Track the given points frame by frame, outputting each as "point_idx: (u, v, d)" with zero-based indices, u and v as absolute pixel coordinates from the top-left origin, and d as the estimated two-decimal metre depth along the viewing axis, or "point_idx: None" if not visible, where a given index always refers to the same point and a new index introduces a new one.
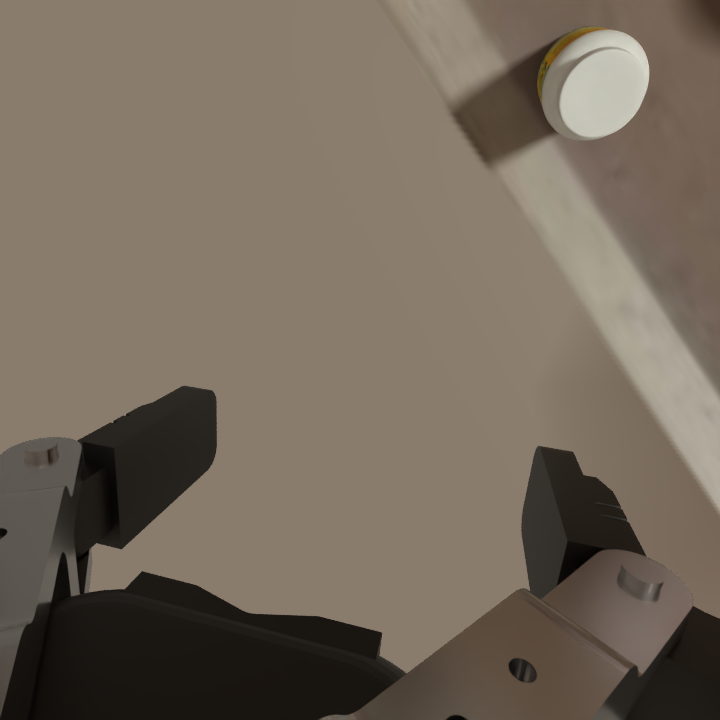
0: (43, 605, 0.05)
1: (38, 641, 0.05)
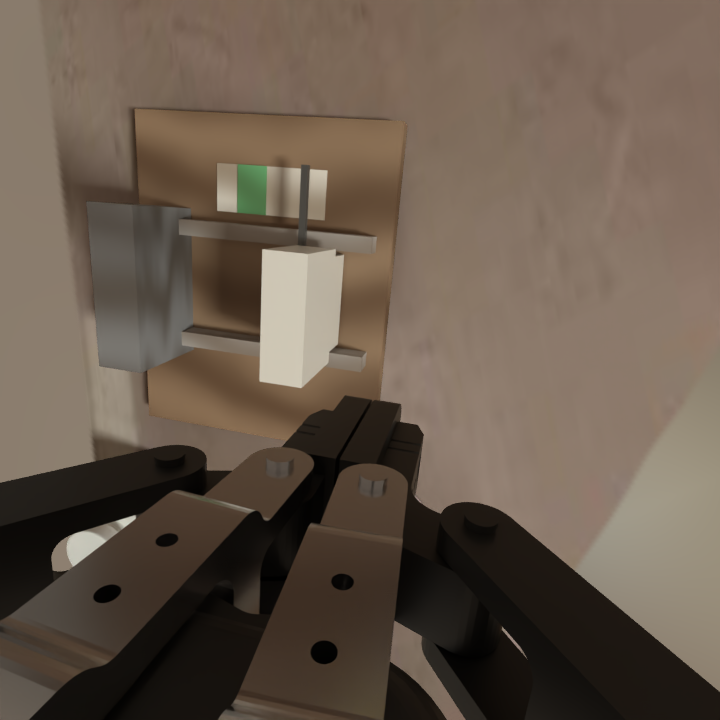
0: (146, 641, 0.05)
1: (117, 683, 0.04)
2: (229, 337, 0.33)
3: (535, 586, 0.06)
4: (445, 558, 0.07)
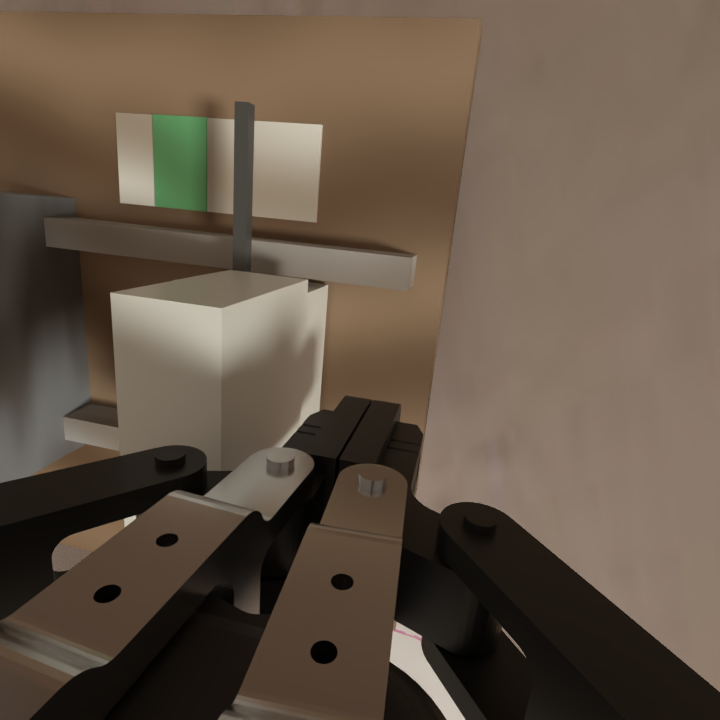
0: (148, 642, 0.05)
1: (118, 683, 0.04)
2: None
3: (535, 586, 0.06)
4: (444, 558, 0.07)
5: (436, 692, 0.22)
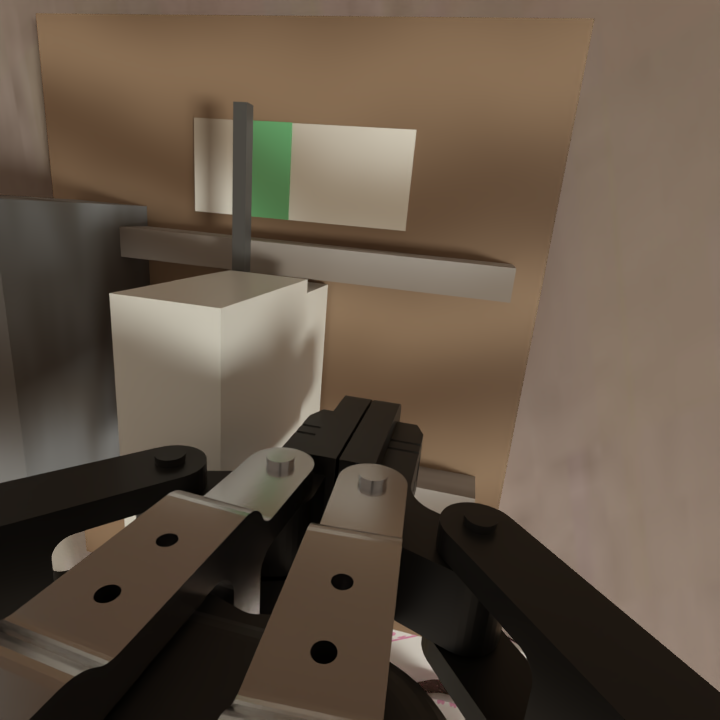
0: (147, 642, 0.05)
1: (118, 684, 0.04)
2: None
3: (535, 586, 0.06)
4: (444, 558, 0.07)
5: None
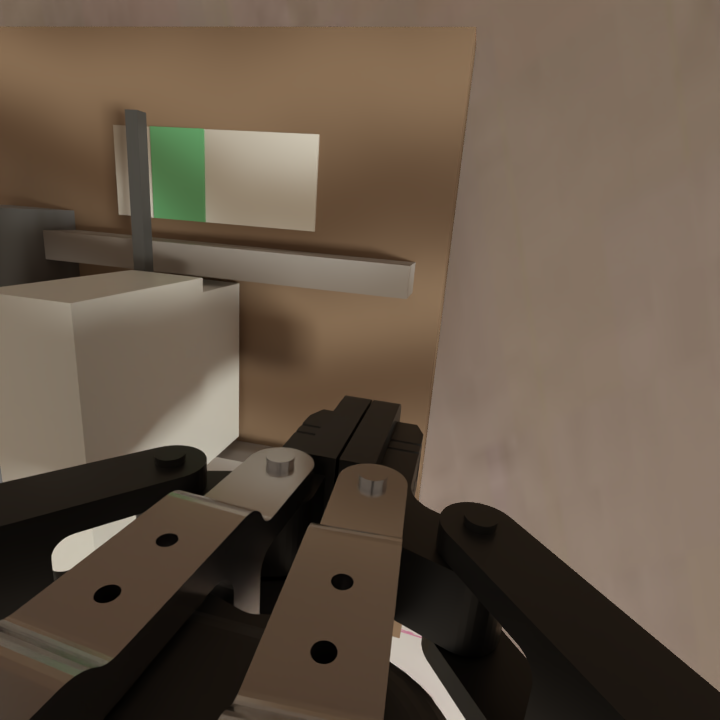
0: (147, 642, 0.05)
1: (118, 684, 0.04)
2: None
3: (535, 586, 0.06)
4: (444, 558, 0.07)
5: (445, 693, 0.22)
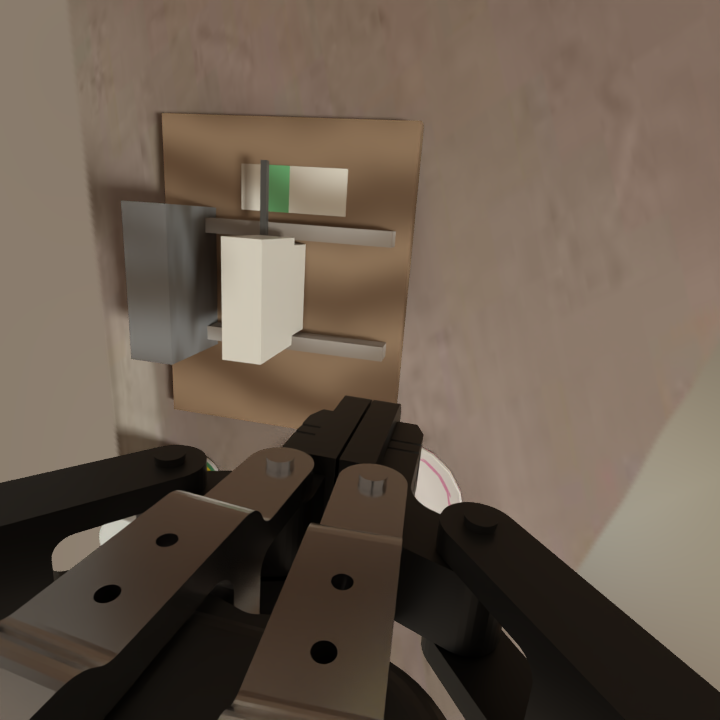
0: (147, 641, 0.05)
1: (118, 684, 0.04)
2: None
3: (535, 586, 0.06)
4: (444, 558, 0.07)
5: (420, 487, 0.38)
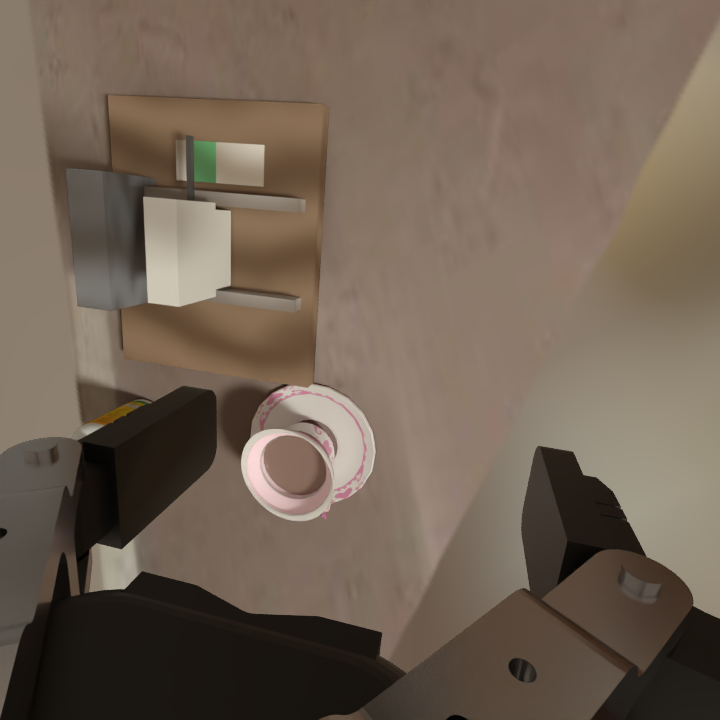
0: (43, 604, 0.05)
1: (38, 641, 0.05)
2: None
3: None
4: None
5: (339, 429, 0.43)
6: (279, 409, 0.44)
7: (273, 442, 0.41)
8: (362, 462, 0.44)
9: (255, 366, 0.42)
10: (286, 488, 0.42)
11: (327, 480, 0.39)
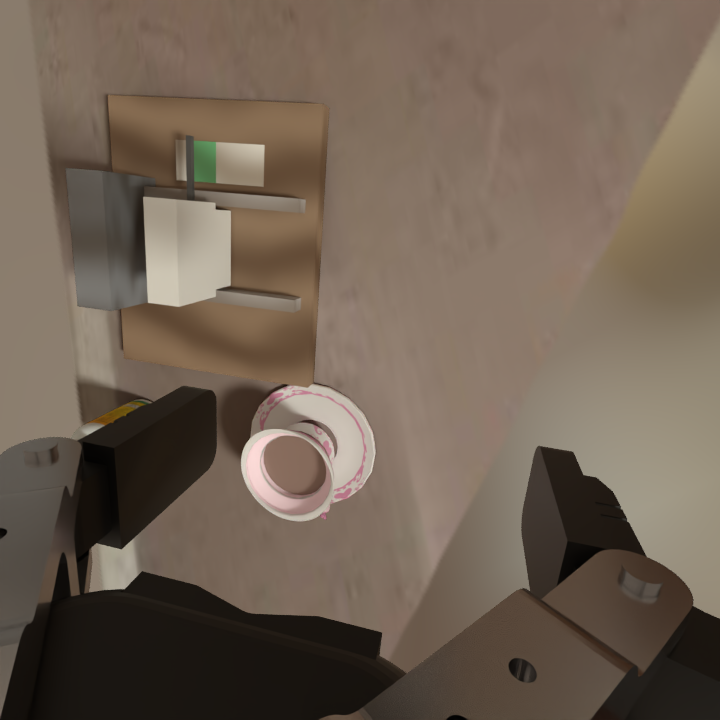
0: (43, 604, 0.05)
1: (38, 641, 0.05)
2: None
3: None
4: None
5: (339, 429, 0.43)
6: (279, 409, 0.44)
7: (273, 442, 0.41)
8: (362, 463, 0.44)
9: (255, 366, 0.42)
10: (286, 488, 0.42)
11: (327, 480, 0.39)
